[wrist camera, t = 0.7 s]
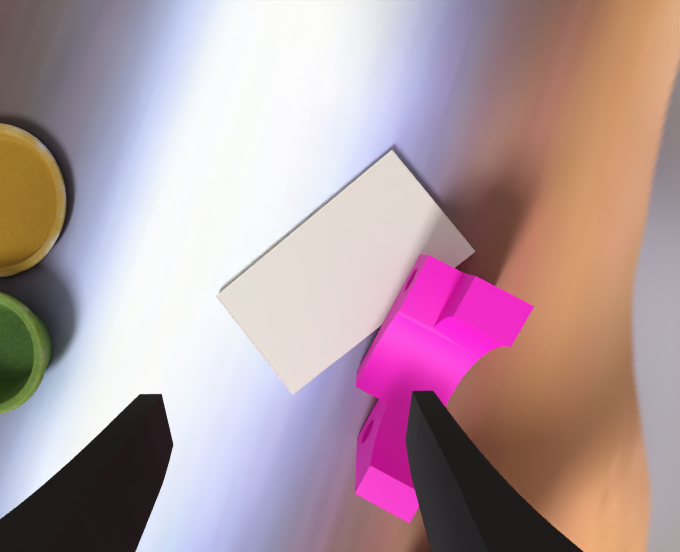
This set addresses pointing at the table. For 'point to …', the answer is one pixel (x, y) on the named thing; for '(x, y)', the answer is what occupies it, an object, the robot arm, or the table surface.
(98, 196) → the table surface
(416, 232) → the mat
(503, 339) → the toy block
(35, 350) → the tableware set
